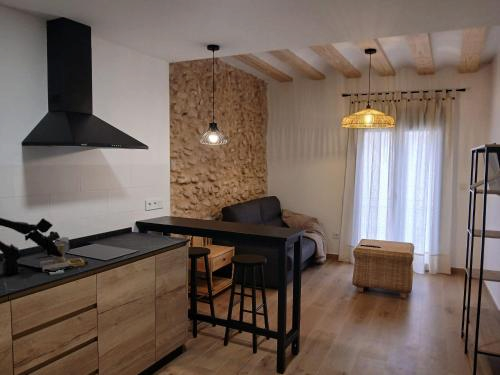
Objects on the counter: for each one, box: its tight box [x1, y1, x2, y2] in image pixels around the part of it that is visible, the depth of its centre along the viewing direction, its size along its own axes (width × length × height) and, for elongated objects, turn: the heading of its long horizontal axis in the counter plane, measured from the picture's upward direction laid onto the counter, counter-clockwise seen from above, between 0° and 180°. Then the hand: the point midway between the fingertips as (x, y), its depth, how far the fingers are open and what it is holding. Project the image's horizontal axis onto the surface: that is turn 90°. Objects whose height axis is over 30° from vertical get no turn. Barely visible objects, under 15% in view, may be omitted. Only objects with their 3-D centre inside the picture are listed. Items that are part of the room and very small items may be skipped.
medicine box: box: [54, 236, 70, 245], centre depth 258 cm, size 8×4×9 cm, turn 163°
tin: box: [44, 241, 71, 257], centre depth 248 cm, size 15×3×8 cm, turn 141°
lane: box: [39, 257, 69, 272], centre depth 223 cm, size 14×10×3 cm
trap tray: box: [66, 257, 86, 268], centre depth 229 cm, size 8×10×2 cm
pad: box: [48, 268, 65, 276], centre depth 214 cm, size 7×7×1 cm
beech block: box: [52, 244, 65, 264], centre depth 224 cm, size 5×5×13 cm
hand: (61, 255), depth 225 cm, fingers open, 6 cm apart
